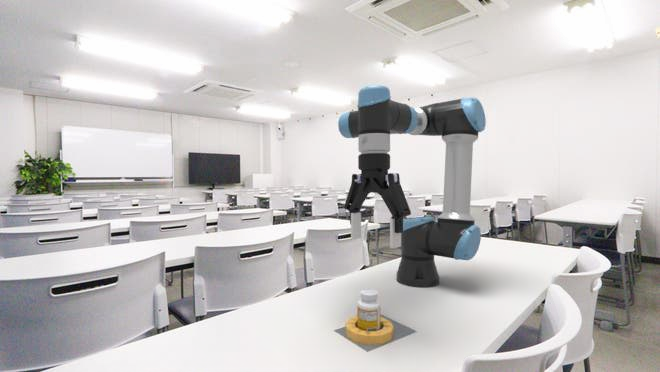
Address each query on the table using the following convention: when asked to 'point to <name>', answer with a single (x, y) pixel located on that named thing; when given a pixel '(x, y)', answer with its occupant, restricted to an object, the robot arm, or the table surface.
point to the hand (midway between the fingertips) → (374, 242)
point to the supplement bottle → (369, 311)
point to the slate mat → (399, 333)
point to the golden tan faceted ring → (371, 336)
